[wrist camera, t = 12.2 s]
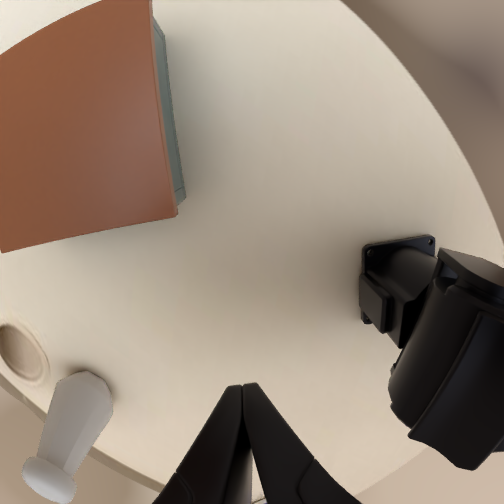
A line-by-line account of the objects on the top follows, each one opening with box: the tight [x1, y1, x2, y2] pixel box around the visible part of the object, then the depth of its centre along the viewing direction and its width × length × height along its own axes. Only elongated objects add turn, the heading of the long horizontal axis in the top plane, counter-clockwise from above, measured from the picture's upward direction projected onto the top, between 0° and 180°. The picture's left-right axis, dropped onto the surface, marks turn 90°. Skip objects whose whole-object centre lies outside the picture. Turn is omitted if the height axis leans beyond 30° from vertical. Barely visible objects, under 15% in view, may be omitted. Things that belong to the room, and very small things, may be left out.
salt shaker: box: [22, 371, 113, 504], centre depth 17 cm, size 6×6×13 cm
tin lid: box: [0, 0, 178, 253], centre depth 11 cm, size 11×12×1 cm
